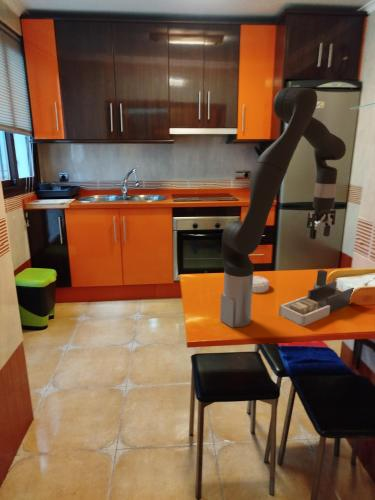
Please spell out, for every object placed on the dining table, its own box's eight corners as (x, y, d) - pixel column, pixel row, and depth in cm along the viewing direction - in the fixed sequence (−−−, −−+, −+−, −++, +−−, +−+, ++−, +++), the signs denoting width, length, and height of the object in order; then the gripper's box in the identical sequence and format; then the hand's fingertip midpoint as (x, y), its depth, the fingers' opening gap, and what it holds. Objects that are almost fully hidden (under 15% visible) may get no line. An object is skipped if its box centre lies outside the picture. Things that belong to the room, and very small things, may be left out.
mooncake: (274, 287, 144) (274, 279, 143) (258, 295, 135) (258, 287, 134) (250, 280, 152) (250, 272, 151) (233, 287, 143) (233, 279, 142)
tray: (302, 326, 111) (303, 316, 110) (278, 314, 119) (279, 305, 118) (329, 315, 119) (330, 306, 118) (304, 304, 127) (305, 296, 126)
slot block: (326, 314, 120) (328, 298, 118) (306, 305, 126) (308, 290, 124) (352, 303, 128) (355, 288, 127) (332, 295, 135) (334, 281, 133)
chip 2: (309, 316, 117) (311, 305, 116) (300, 311, 120) (301, 301, 119) (317, 313, 119) (318, 302, 118) (307, 309, 122) (308, 298, 121)
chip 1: (306, 316, 117) (299, 320, 114) (297, 312, 120) (289, 315, 118) (308, 306, 116) (300, 309, 113) (298, 301, 119) (290, 304, 116)
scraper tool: (323, 295, 136) (326, 273, 133) (312, 290, 140) (315, 269, 137) (327, 293, 137) (330, 272, 134) (316, 289, 141) (319, 268, 138)
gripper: (321, 198, 123) (316, 242, 128) (344, 195, 131) (339, 237, 135) (303, 195, 129) (299, 238, 133) (327, 193, 137) (322, 233, 141)
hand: (319, 237), depth 134 cm, fingers open, 8 cm apart
